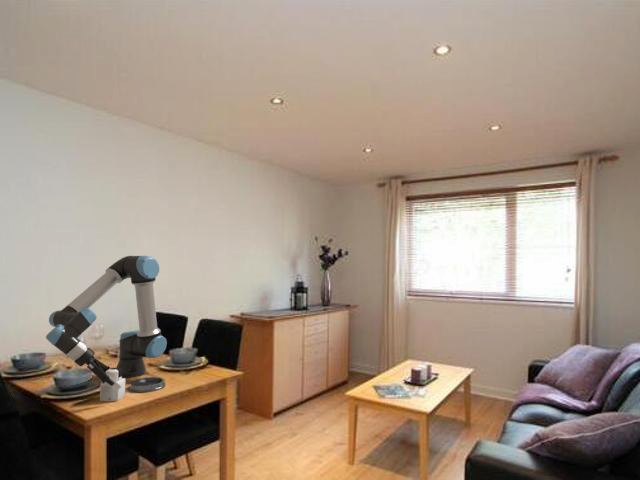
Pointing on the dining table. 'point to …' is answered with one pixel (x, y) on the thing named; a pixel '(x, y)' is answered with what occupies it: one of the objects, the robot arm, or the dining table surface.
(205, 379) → the dining table surface
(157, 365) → the dining table surface
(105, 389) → the container
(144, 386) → the blue-grey ceramic round dish
